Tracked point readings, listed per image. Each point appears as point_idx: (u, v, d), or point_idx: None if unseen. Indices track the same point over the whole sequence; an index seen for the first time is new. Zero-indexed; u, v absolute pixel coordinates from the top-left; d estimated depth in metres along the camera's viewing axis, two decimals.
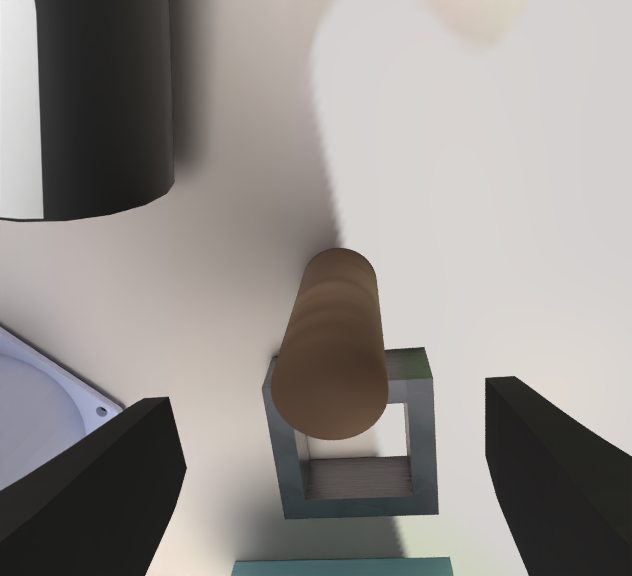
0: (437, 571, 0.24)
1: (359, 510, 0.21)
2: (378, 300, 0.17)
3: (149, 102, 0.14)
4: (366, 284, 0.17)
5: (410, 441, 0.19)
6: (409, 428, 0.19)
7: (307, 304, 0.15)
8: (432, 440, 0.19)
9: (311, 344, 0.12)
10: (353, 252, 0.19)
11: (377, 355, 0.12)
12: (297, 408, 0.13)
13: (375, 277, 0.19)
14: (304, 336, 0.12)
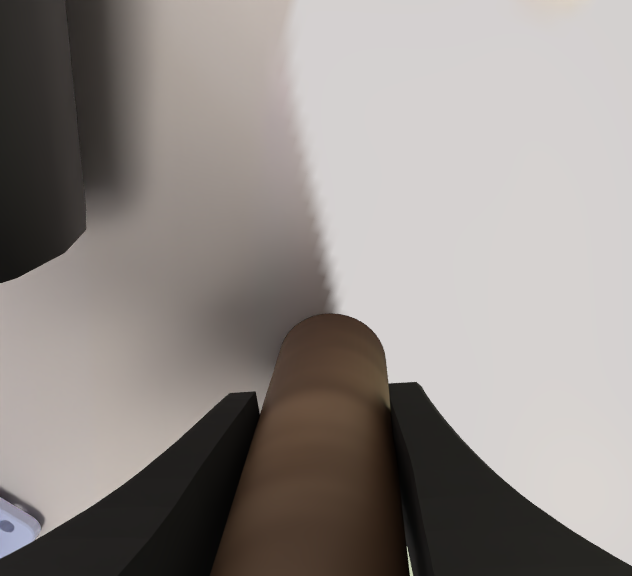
0: None
1: None
2: None
3: (13, 107, 0.08)
4: (373, 388, 0.11)
5: None
6: None
7: (273, 447, 0.09)
8: None
9: None
10: (351, 321, 0.13)
11: None
12: None
13: (384, 358, 0.13)
14: (253, 558, 0.06)
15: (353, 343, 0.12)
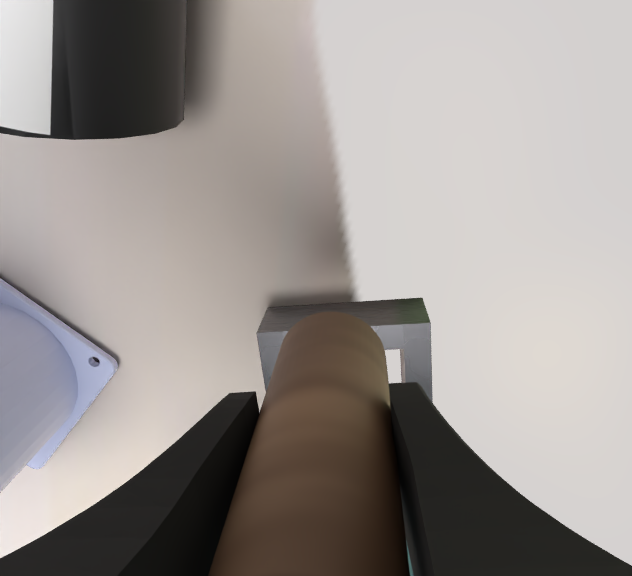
0: None
1: None
2: None
3: (164, 24, 0.14)
4: (372, 386, 0.11)
5: None
6: (405, 376, 0.19)
7: (272, 443, 0.09)
8: (429, 388, 0.19)
9: None
10: (351, 319, 0.13)
11: None
12: None
13: (384, 356, 0.13)
14: (253, 554, 0.06)
15: (353, 341, 0.12)
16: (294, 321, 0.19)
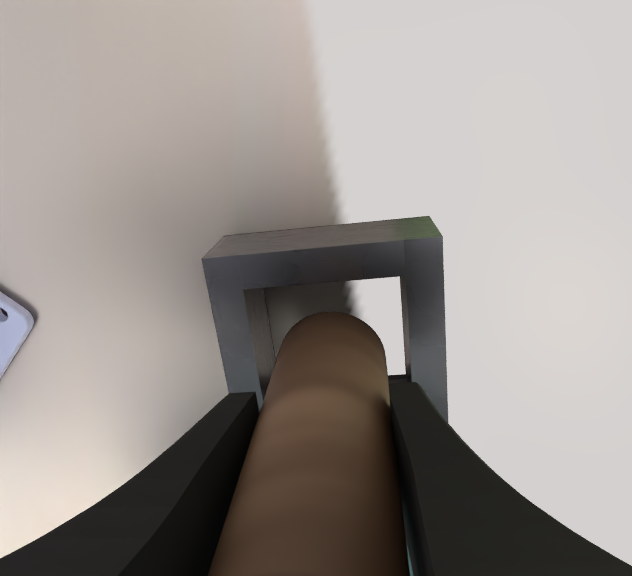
0: None
1: None
2: None
3: None
4: (372, 385, 0.11)
5: (410, 335, 0.14)
6: (409, 316, 0.14)
7: (272, 442, 0.09)
8: (441, 333, 0.14)
9: None
10: (351, 319, 0.13)
11: None
12: None
13: (384, 356, 0.13)
14: (252, 551, 0.06)
15: (353, 340, 0.12)
16: (255, 245, 0.14)
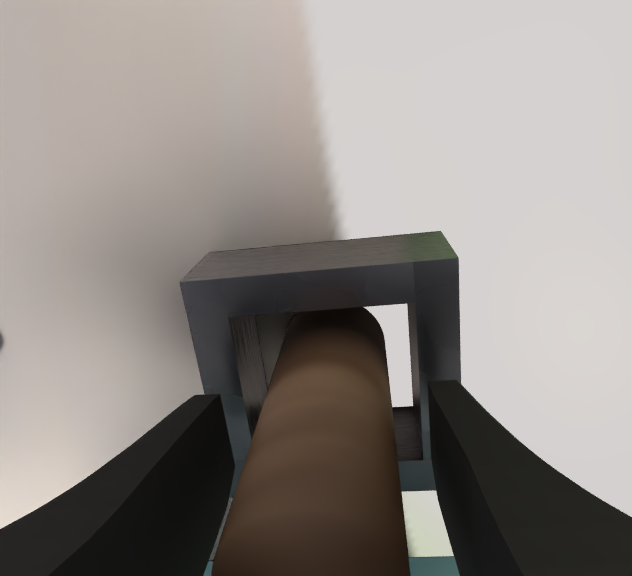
0: None
1: None
2: (388, 382, 0.12)
3: None
4: (372, 364, 0.11)
5: (420, 370, 0.12)
6: (418, 348, 0.12)
7: (280, 411, 0.09)
8: (455, 367, 0.12)
9: (278, 519, 0.07)
10: None
11: (392, 531, 0.07)
12: None
13: (383, 339, 0.14)
14: (266, 497, 0.07)
15: (354, 324, 0.13)
16: (242, 266, 0.12)
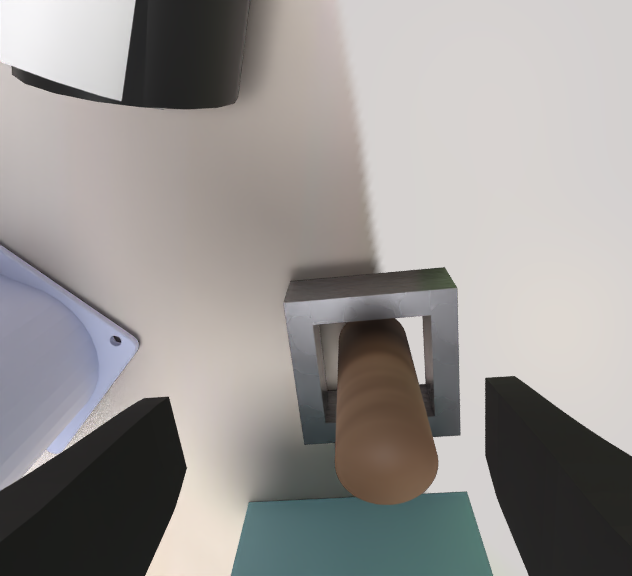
0: (455, 504, 0.24)
1: None
2: None
3: None
4: (404, 353, 0.19)
5: (433, 357, 0.19)
6: (432, 343, 0.19)
7: (358, 378, 0.16)
8: (455, 355, 0.19)
9: (372, 426, 0.14)
10: None
11: (428, 433, 0.14)
12: (357, 478, 0.15)
13: None
14: (364, 417, 0.14)
15: (390, 328, 0.20)
16: (319, 292, 0.19)
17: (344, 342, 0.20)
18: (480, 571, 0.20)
